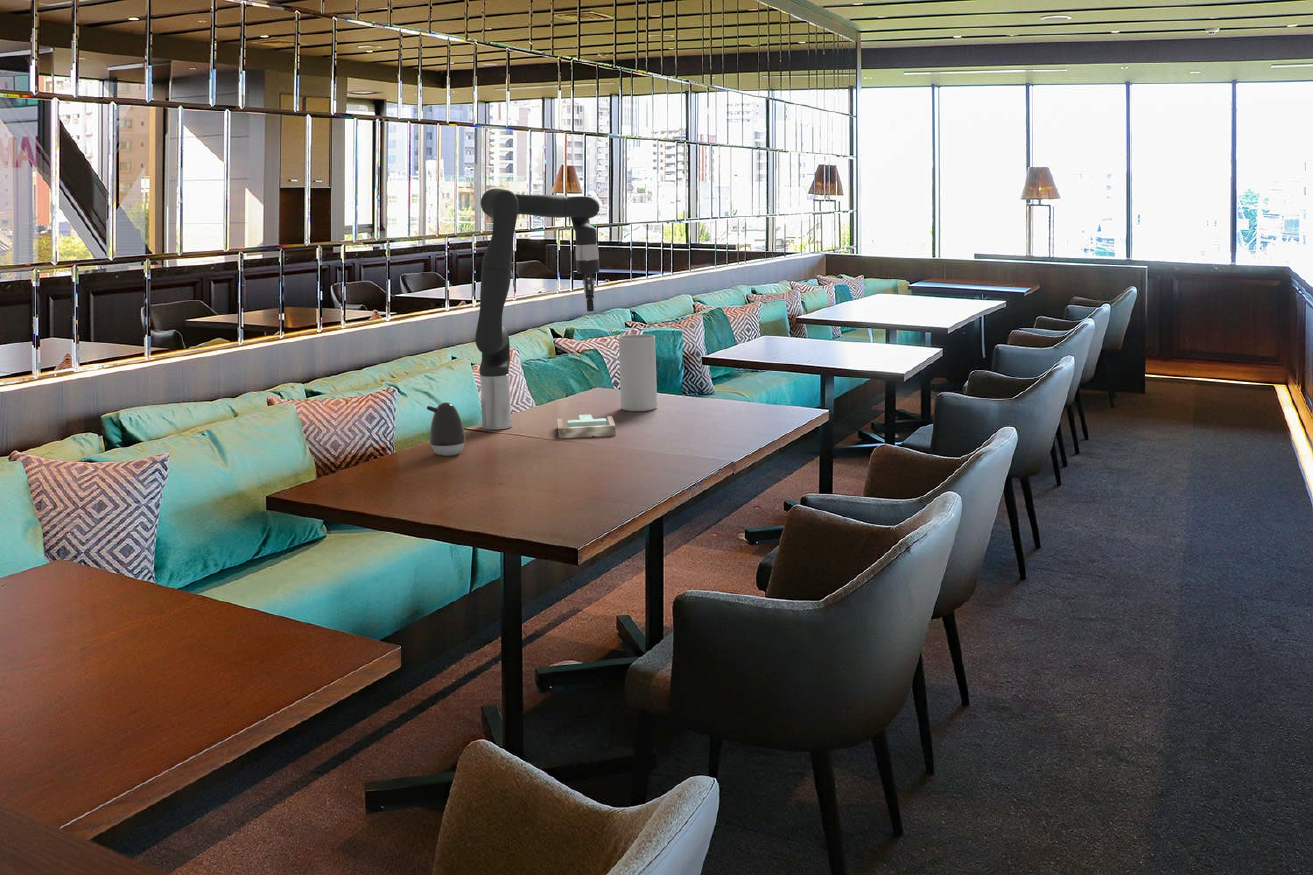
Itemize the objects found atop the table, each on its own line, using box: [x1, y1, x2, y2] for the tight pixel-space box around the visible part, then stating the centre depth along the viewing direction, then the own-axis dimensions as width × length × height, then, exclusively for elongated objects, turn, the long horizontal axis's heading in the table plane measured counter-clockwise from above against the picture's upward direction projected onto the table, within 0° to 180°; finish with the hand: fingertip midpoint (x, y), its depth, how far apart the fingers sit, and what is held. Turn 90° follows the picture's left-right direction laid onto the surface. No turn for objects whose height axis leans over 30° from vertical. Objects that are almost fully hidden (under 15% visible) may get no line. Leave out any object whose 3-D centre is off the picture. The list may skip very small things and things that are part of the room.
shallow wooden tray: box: [557, 415, 616, 439], centre depth 348 cm, size 17×16×3 cm
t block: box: [566, 413, 607, 427], centre depth 350 cm, size 12×12×4 cm
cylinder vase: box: [618, 334, 658, 412], centre depth 382 cm, size 12×12×25 cm
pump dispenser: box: [426, 402, 466, 457], centre depth 320 cm, size 10×10×15 cm
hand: (590, 311), depth 369 cm, fingers closed
